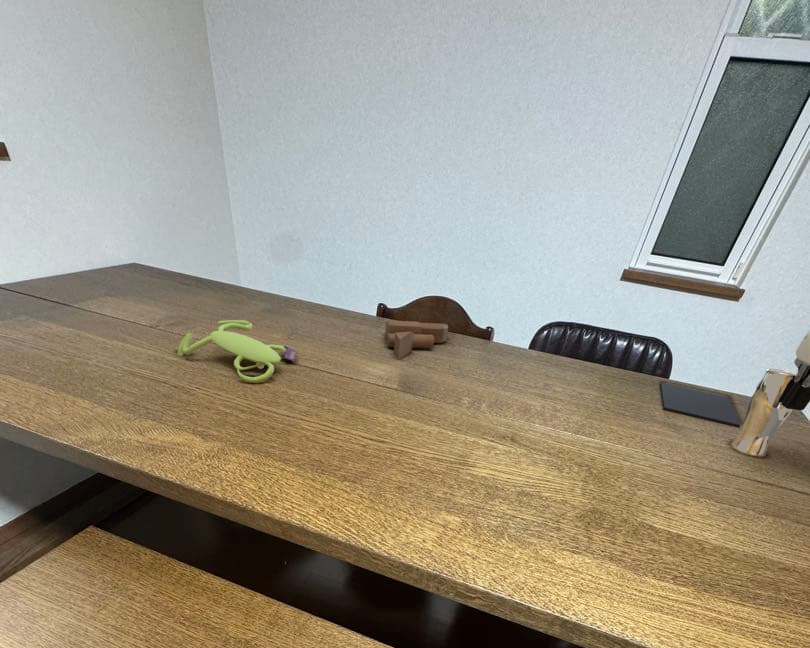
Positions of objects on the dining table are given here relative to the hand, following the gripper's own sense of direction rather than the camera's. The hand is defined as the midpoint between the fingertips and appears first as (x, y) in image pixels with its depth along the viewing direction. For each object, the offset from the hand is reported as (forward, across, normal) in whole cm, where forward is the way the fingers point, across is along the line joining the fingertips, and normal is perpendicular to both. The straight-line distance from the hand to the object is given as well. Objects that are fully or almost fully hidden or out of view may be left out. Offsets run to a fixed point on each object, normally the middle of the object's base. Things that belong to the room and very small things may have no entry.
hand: (791, 407), depth 80 cm
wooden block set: (+12, +42, +67) cm, 80 cm away
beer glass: (+11, +4, 0) cm, 11 cm away
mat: (+11, +28, 0) cm, 30 cm away
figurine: (+12, +19, +107) cm, 109 cm away
